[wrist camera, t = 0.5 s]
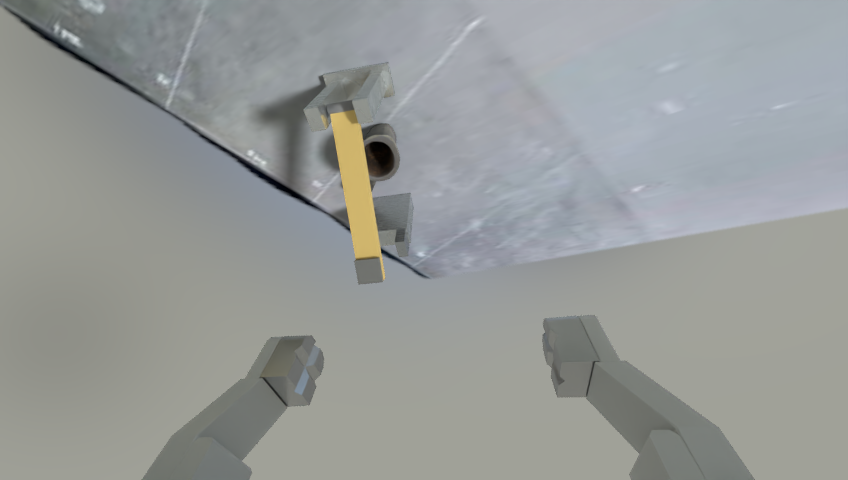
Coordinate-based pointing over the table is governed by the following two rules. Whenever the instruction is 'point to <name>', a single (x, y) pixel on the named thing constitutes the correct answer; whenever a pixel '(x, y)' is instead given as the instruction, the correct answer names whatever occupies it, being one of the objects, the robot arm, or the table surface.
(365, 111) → the grey slotted stand
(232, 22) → the table surface
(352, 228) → the yellow bar
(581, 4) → the table surface
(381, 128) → the pipe
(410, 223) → the stop block
